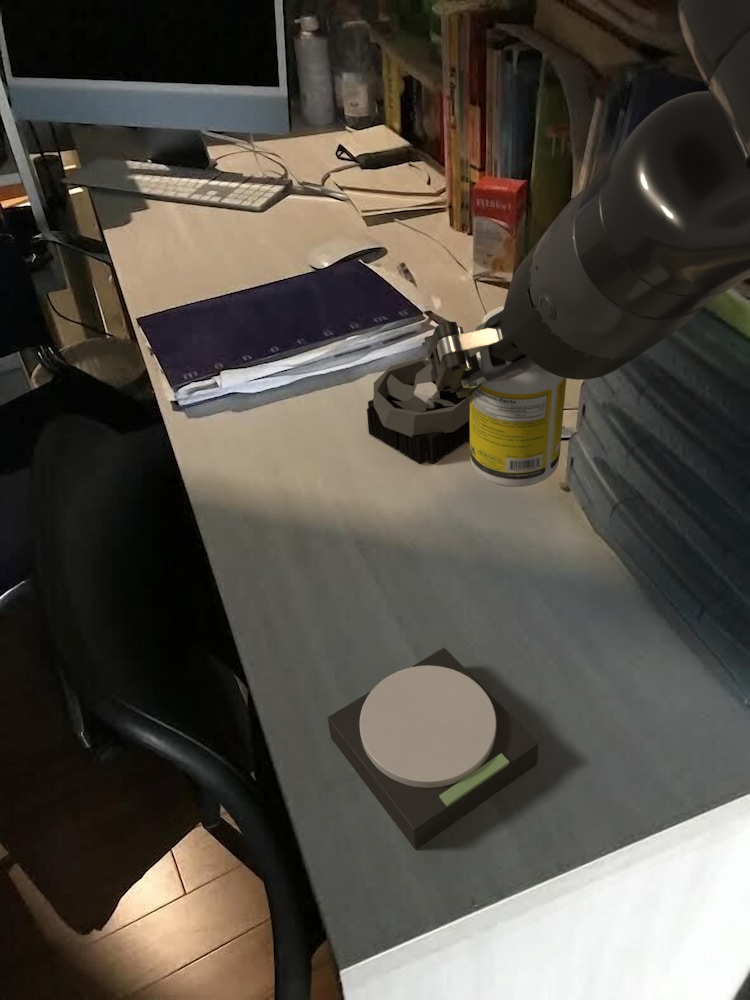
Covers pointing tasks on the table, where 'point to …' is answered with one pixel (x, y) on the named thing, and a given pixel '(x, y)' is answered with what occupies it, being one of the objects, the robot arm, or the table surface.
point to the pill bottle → (517, 426)
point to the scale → (432, 745)
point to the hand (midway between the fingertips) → (507, 372)
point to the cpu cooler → (417, 412)
